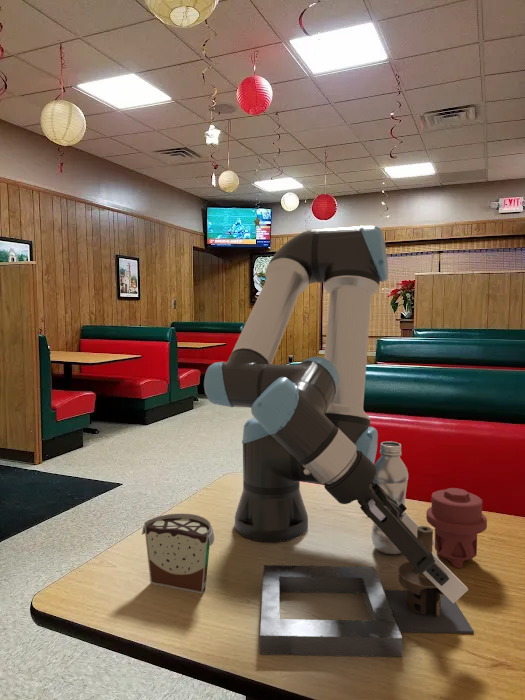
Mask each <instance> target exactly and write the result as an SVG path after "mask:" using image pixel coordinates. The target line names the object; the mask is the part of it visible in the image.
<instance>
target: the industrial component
mask: <svg viewBox="0 0 525 700" xmlns="http://www.w3.org/2000/svg"><path fill="white" fill-rule="evenodd" d="M418 526H419V527H418V528H417V539H418V540H419V541H420V542H421V543H422V544H423V545H424V547H425V548H426V549H427V550H428V551H429V552H431V553H433V546H432V543H433V541H434V539H433V537H434V534H433V533H434V530H433V528H432V527H430V526H428V525H426V526H425V525H418ZM413 569H414V566H413V565H412V564H411V563H410V562H409V561H406V562H404V563H402V564H400V566H399V567H398V582H399V584H400V586H402V588H404V589H405V590H407V606H408V608H409V609H410V610H411V611H413V612H414V613H417V614H421V615H423V616H426V615H427V614H434V616H435V617H436V618H437V617H438V616H440V608H441V598H442V597H443V596H444V594H443V593H442V592H441V591H440V590H439V589H438V588H437V587H436V586H435V585H434V584H433V583H432V582H431V581H430V580H429V579H428V578H427V577H426V576H425V575H424V574H423V573H422V574H419V573H418V574H417V575H416V574H415V573H414V572H413V571H412V570H413Z"/></svg>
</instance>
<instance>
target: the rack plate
mask: <svg viewBox="0 0 525 700" xmlns="http://www.w3.org/2000/svg"><path fill="white" fill-rule="evenodd" d="M262 574H263V577H262V593H261V610H260V611H261V612H260V613H261V614H260V631H259V632H260V633H259V652H260V653H259V654H260V655H280V656H281V655H282V656H283V655H287V656H328V657H329V656H330V657H331V656H333V657H334V656H336V657H337V656H339V657H383V658H386V657H387V658H389V657H390V658H391V657H392V658H402V657H403V637H402V634H401V632H400V631H399V628H398V626H397V623H396V621H395V618H394V616H393V613H392V611H391V608H390V606H389V603H388V600H387V598H386V595H385V593H384V590H385V589H384V588H383V585H382V583H381V581H380V578H379V576H378V573H377V570H376V568H375V566H357V565H355V566H354V565H353V566H351V565H350V566H349V565H348V566H347V565H345V566H343V565H341V566H340V565H290V564H289V565H287V564H286V565H282V564H281V565H280V564H278V565H277V564H273V565H272V564H268V565H267V564H264V565H263V573H262ZM280 593H323V594H324V593H328V594H330V593H333V594H336V593H337V594H339V593H340V594H362V596H363V600H364V603H365V606H366V609H367V610H366V611H367V612H368V616H369V620H363V619H362V620H361V619H359V620H352V619H351V620H349V619H347V620H345V619H302V618H301V619H295V618H294V619H292V618H291V619H290V618H289V619H288V618H284V619H283V618H282V619H281V618H280V617H281V616H280V615H281V614H280Z"/></svg>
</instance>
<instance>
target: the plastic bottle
mask: <svg viewBox="0 0 525 700" xmlns="http://www.w3.org/2000/svg"><path fill="white" fill-rule="evenodd" d="M379 454H380V457H379V458H378V459H377V460H376V462H374V465H375V466H376V469H377V472H376V476H375V479H374V480H373V482H374V483H377V484H379V486H380V487H381V488H382V489H383V490H384V491H385V493H386V494H387V495H389V496H390V497H391V498H392V499H393V500H394V501H396V502H397V504H398V506H399V505H400V504H401V503H402V504H403V505H404V506H405V507H406V503H405V502H406V493H407V487H408V480H409V472H408V467H407V466H406V464H405V463H404V461H403V460H402V458H401V456H402V444H401V443H398V442H397V441H382V442H381V443H380V450H379ZM404 513H406V510H405V511H404V512H403V513H402V515H403V514H404ZM371 540H372V544H373V546H374V548H375V549H376V550H377V551H379V552H380V553H383V554H387V555H401V554H402V553H401V552H400V551H399V550H398V548H397V547H396V546H395V545H394V544H393V543H392V542H391V541H390V539H389V538H388V537H387V536H386V535H385V534H384V533H383V531H382V530H381V529H380V528H379V527H378V526H377V525H376V524H375V523H374V522H373V523H372V529H371Z"/></svg>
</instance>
